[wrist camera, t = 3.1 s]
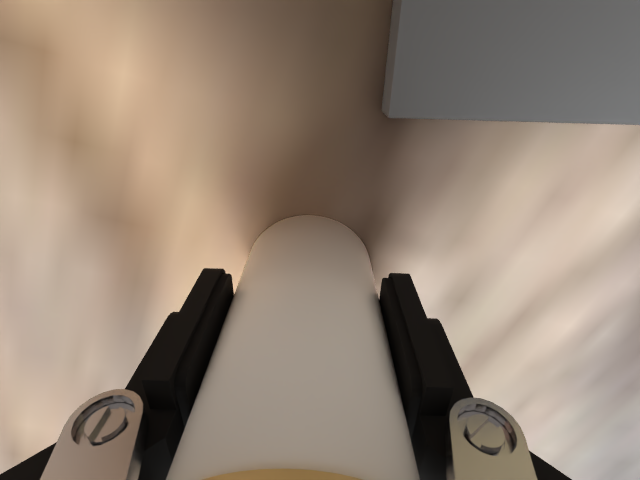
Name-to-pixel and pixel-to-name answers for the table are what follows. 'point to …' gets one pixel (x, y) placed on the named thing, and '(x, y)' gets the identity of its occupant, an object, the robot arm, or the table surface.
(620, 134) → the table surface
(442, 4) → the board
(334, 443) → the marker
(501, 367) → the table surface
